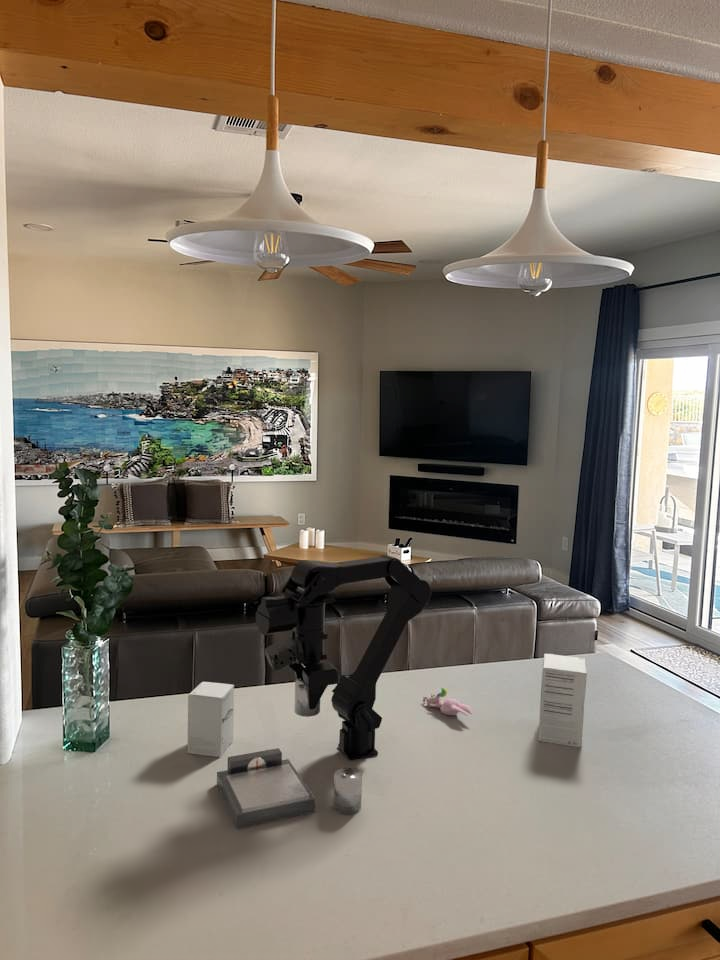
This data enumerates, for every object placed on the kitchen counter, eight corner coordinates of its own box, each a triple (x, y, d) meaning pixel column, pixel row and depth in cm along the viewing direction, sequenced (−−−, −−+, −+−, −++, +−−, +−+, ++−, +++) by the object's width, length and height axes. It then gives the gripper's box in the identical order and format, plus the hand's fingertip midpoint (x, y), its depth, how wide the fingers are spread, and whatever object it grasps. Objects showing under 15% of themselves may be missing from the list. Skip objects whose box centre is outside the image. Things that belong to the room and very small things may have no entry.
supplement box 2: (539, 722, 165) (543, 652, 163) (581, 729, 163) (586, 657, 161) (537, 741, 156) (542, 666, 154) (582, 748, 153) (587, 672, 151)
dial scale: (288, 770, 140) (288, 746, 140) (314, 811, 127) (315, 785, 126) (216, 784, 135) (217, 758, 134) (236, 828, 121) (237, 800, 121)
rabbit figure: (417, 710, 173) (459, 725, 160) (416, 685, 173) (458, 698, 160) (437, 705, 176) (480, 719, 164) (436, 680, 176) (478, 692, 164)
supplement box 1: (220, 758, 144) (221, 698, 143) (186, 753, 146) (186, 693, 144) (234, 741, 152) (235, 683, 150) (201, 737, 153) (201, 680, 152)
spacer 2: (354, 796, 132) (355, 765, 131) (365, 811, 128) (366, 779, 127) (329, 802, 130) (329, 770, 129) (339, 817, 125) (340, 784, 125)
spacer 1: (315, 704, 144) (315, 675, 144) (323, 714, 140) (324, 684, 139) (291, 707, 142) (291, 678, 142) (299, 718, 138) (299, 688, 137)
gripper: (256, 616, 144) (255, 690, 146) (283, 646, 127) (281, 730, 129) (308, 611, 149) (307, 683, 151) (342, 640, 132) (339, 721, 134)
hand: (307, 703), depth 141 cm, fingers closed on spacer 1, 5 cm apart
